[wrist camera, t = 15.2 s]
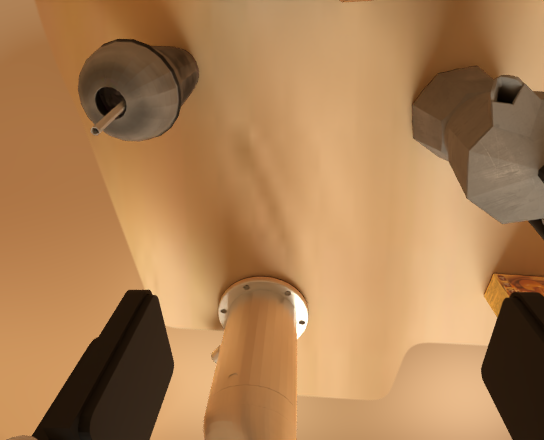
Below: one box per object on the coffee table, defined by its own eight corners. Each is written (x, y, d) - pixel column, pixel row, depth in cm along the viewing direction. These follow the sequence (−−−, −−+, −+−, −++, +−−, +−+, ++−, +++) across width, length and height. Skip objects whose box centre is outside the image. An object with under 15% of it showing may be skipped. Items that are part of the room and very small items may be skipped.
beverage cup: (155, 16, 36) (19, 19, 18) (224, 56, 37) (157, 94, 20) (132, 86, 39) (-3, 145, 22) (196, 120, 40) (117, 201, 23)
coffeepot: (384, 83, 37) (445, 134, 22) (478, 24, 34) (628, 33, 19) (444, 200, 43) (527, 308, 27) (529, 158, 40) (678, 251, 24)
